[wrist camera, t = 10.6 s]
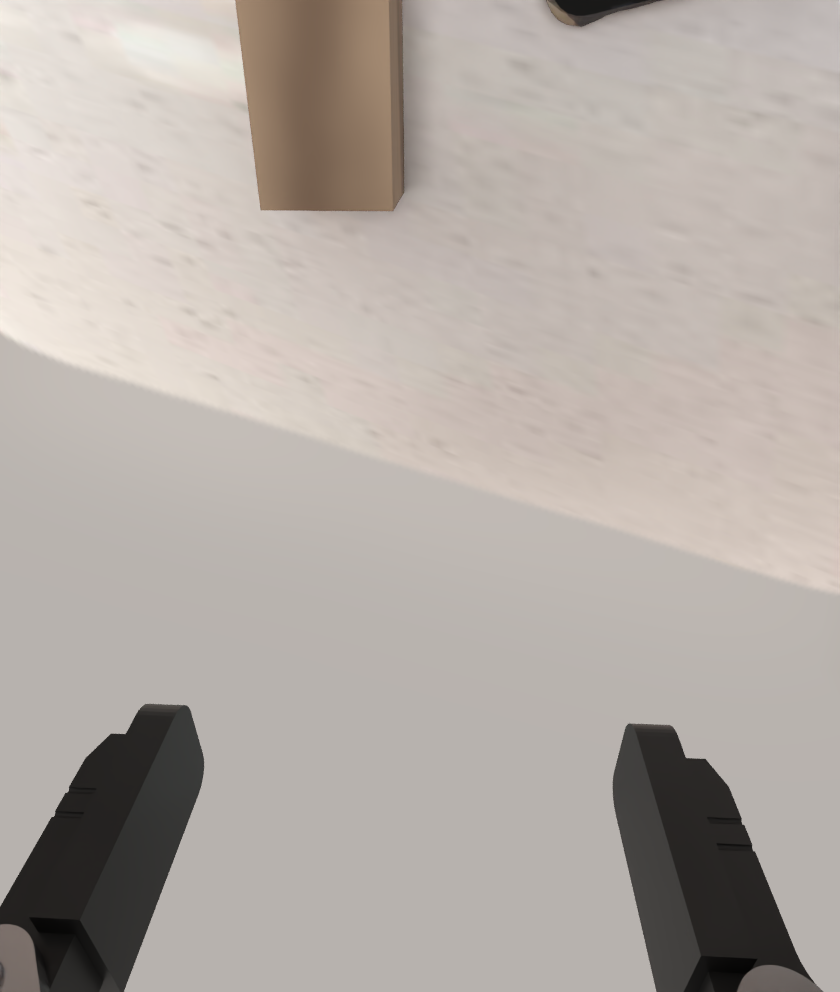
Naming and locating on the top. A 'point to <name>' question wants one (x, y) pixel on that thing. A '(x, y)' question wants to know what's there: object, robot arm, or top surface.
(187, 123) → the top surface
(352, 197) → the walnut block
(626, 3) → the black curved shell
